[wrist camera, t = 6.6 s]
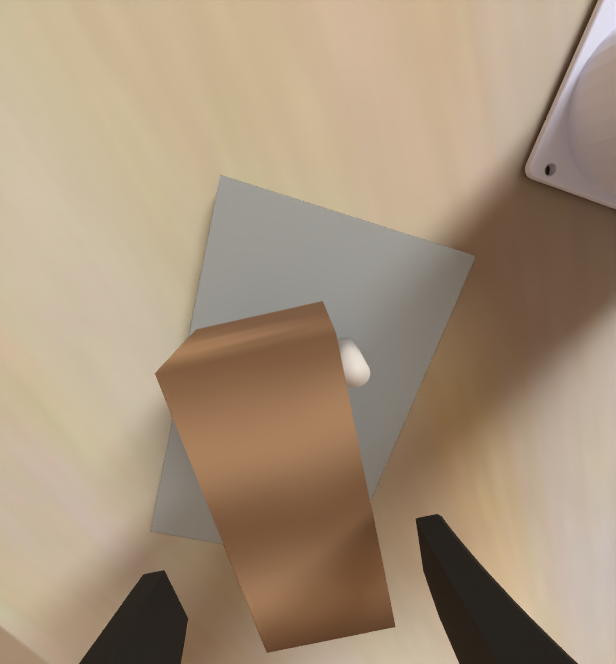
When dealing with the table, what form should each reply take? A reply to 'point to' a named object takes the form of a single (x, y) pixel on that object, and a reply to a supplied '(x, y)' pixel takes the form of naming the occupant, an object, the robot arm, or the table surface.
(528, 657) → the robot arm
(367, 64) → the table surface
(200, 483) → the copper brown rectangular block
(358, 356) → the peg plate
